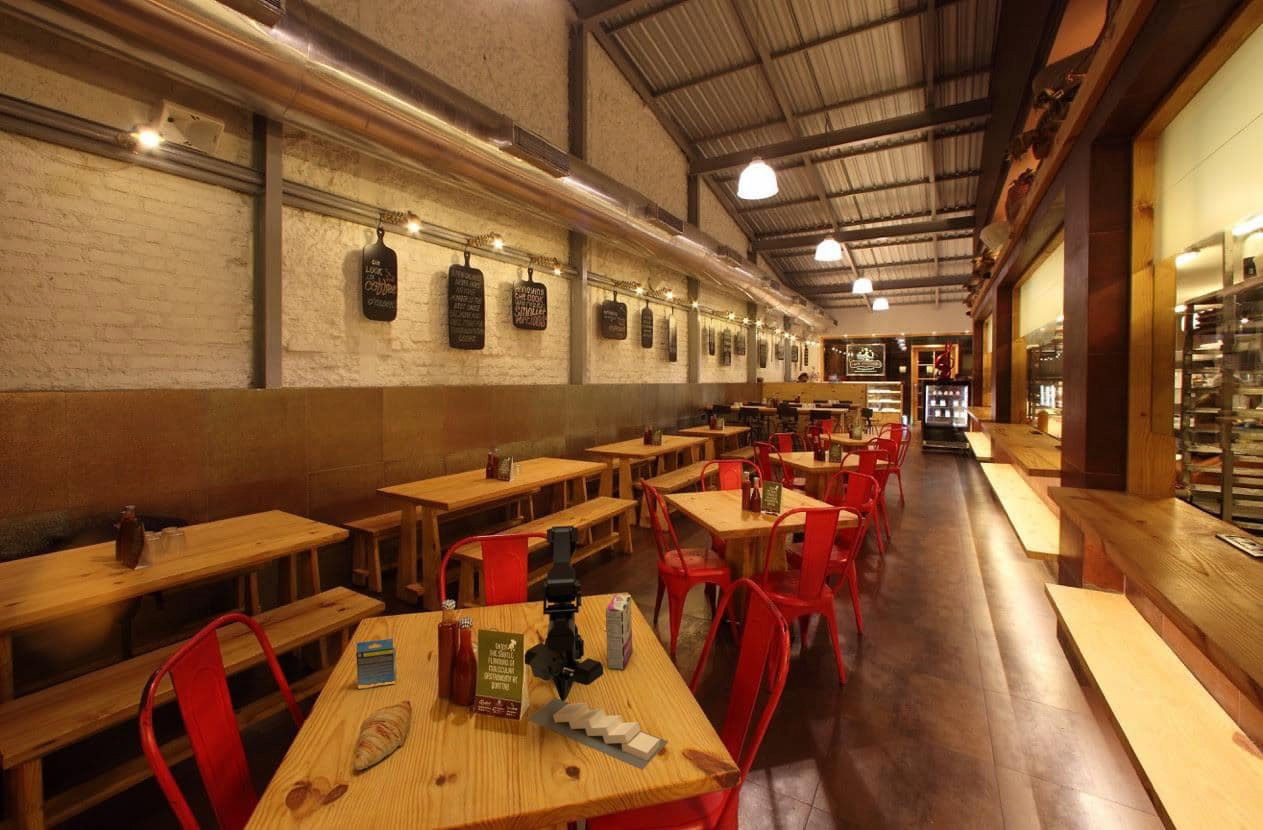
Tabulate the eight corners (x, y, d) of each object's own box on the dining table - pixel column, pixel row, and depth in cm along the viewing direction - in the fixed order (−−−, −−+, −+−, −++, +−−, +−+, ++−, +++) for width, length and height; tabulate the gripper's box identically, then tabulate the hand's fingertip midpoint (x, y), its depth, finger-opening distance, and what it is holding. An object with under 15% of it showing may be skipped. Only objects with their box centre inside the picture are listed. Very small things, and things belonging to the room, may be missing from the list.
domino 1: (553, 715, 121) (572, 713, 118) (567, 704, 125) (586, 702, 122) (555, 722, 121) (574, 721, 117) (569, 711, 125) (588, 709, 122)
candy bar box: (615, 649, 156) (614, 593, 156) (632, 651, 155) (631, 594, 155) (606, 669, 146) (605, 608, 145) (624, 670, 145) (623, 610, 144)
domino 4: (602, 735, 113) (624, 734, 110) (616, 723, 117) (638, 721, 114) (605, 743, 113) (627, 742, 110) (618, 730, 117) (640, 729, 114)
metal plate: (525, 723, 122) (525, 718, 122) (555, 701, 130) (555, 697, 130) (642, 774, 105) (642, 769, 105) (668, 746, 113) (668, 741, 113)
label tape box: (397, 677, 143) (395, 631, 143) (394, 685, 139) (393, 638, 139) (360, 682, 141) (358, 636, 140) (357, 691, 137) (355, 643, 136)
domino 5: (621, 742, 111) (647, 752, 107) (635, 729, 115) (659, 739, 112) (621, 750, 111) (647, 760, 108) (635, 737, 115) (659, 746, 112)
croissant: (373, 793, 106) (390, 758, 106) (327, 770, 106) (344, 735, 106) (418, 724, 127) (433, 695, 127) (380, 705, 127) (394, 676, 127)
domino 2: (568, 721, 118) (589, 720, 115) (583, 710, 123) (603, 708, 119) (570, 729, 118) (591, 727, 115) (585, 717, 122) (605, 716, 119)
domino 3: (585, 728, 116) (606, 727, 113) (599, 716, 120) (620, 715, 117) (587, 736, 116) (608, 735, 112) (601, 723, 120) (622, 722, 117)
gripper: (505, 635, 120) (507, 704, 121) (571, 657, 110) (572, 732, 110) (540, 617, 129) (542, 682, 130) (604, 636, 119) (605, 705, 120)
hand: (563, 699), depth 122 cm, fingers closed
